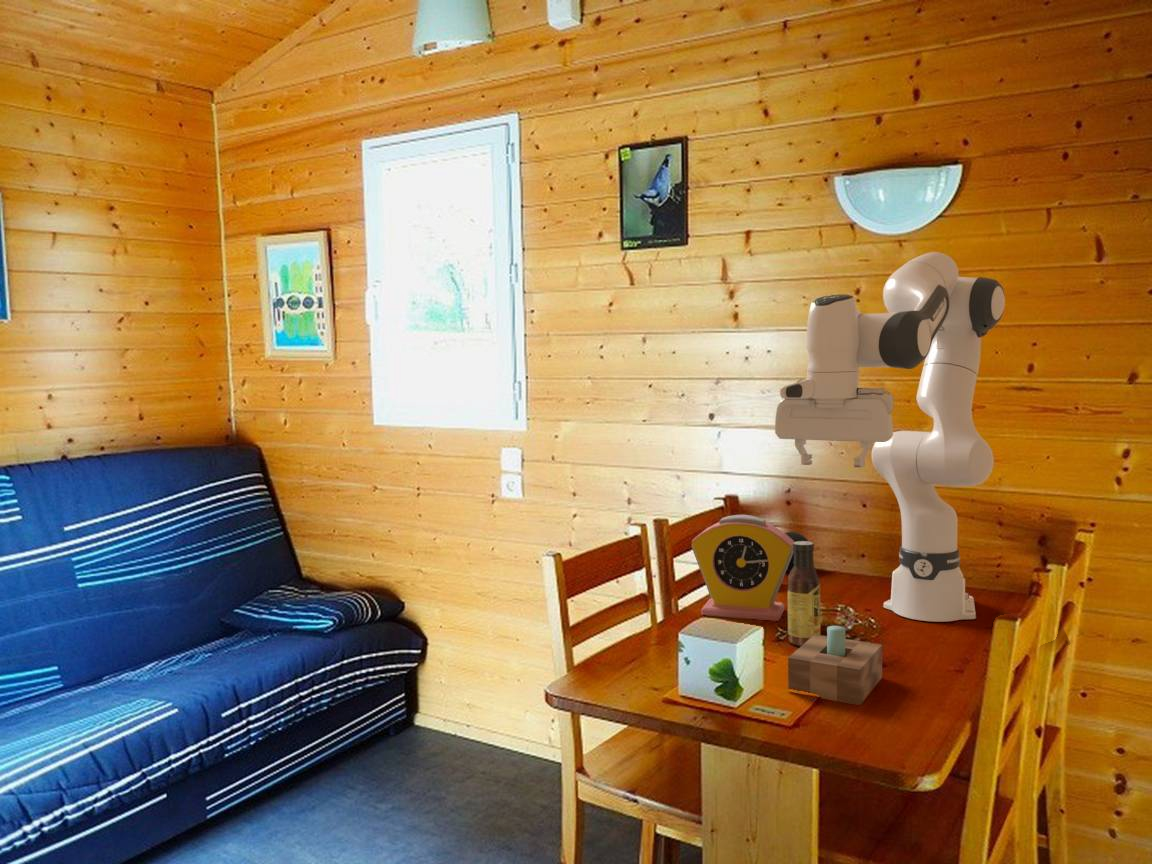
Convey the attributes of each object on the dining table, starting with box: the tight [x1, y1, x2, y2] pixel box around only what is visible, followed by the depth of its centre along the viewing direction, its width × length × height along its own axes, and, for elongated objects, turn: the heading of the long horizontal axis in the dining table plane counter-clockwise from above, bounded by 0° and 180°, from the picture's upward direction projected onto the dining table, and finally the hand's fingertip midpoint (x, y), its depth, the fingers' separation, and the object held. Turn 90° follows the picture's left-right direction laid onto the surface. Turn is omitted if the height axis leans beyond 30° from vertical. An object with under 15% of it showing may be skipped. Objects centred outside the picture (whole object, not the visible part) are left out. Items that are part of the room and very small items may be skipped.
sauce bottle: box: [787, 540, 821, 647], centre depth 180 cm, size 6×6×20 cm
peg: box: [826, 625, 846, 657], centre depth 158 cm, size 3×3×10 cm
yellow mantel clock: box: [690, 514, 794, 622], centre depth 201 cm, size 22×9×22 cm, turn 69°
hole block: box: [787, 634, 883, 706], centre depth 159 cm, size 14×12×6 cm
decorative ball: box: [784, 531, 810, 572], centre depth 237 cm, size 10×10×10 cm
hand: (832, 465), depth 164 cm, fingers open, 8 cm apart
